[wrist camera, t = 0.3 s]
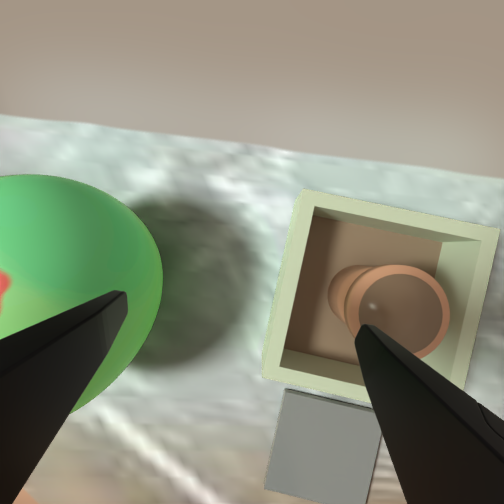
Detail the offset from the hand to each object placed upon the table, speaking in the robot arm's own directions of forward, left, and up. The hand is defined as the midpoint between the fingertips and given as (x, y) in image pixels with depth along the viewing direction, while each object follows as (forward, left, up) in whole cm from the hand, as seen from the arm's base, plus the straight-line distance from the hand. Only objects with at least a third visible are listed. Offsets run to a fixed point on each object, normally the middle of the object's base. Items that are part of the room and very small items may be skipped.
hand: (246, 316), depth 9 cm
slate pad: (-18, +5, -15) cm, 24 cm away
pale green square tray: (-8, -7, -15) cm, 18 cm away
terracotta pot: (-8, -7, -14) cm, 18 cm away
